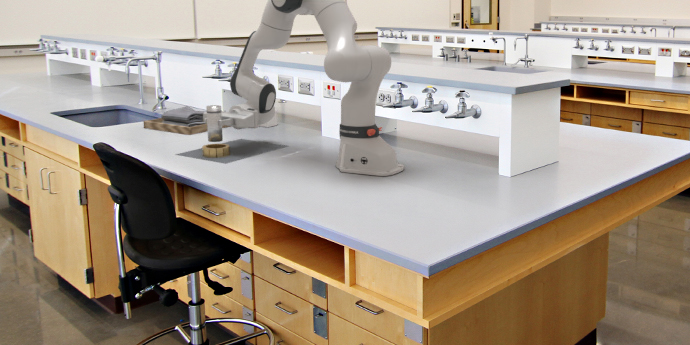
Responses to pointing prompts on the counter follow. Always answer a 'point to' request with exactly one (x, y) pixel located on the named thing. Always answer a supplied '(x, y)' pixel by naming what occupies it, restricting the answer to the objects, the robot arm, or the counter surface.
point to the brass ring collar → (216, 150)
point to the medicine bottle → (271, 121)
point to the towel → (183, 117)
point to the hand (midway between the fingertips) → (212, 122)
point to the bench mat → (237, 150)
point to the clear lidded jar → (214, 123)
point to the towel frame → (175, 127)
